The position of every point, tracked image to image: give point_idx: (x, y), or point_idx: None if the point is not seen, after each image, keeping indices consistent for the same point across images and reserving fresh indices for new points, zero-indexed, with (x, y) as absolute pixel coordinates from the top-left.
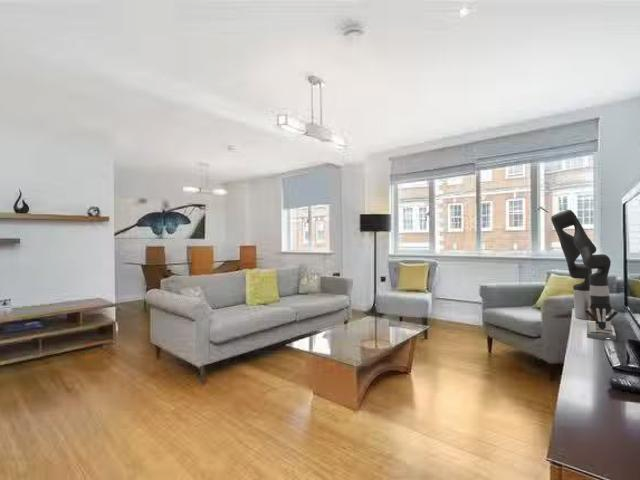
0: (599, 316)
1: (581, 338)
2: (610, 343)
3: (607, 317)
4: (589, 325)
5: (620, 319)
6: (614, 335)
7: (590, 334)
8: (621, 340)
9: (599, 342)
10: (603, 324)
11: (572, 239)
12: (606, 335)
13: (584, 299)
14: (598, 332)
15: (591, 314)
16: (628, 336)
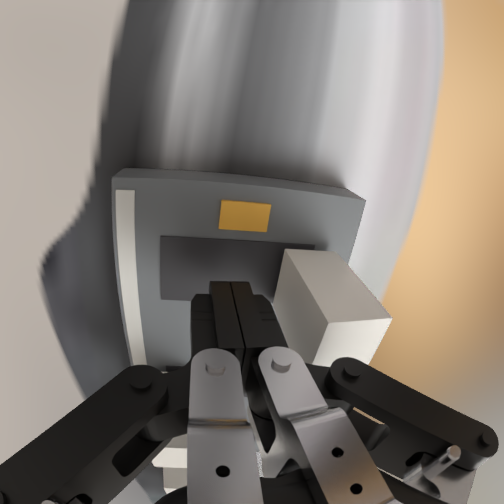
0: (309, 421)
1: (391, 138)
2: (193, 28)
3: (179, 486)
4: (367, 290)
5: (152, 495)
6: (123, 201)
7: (337, 193)
8: (88, 191)
9: (282, 33)
10: (220, 319)
11: None
12: (198, 179)
13: None
14: (257, 274)
15: (421, 422)
16: (66, 335)
